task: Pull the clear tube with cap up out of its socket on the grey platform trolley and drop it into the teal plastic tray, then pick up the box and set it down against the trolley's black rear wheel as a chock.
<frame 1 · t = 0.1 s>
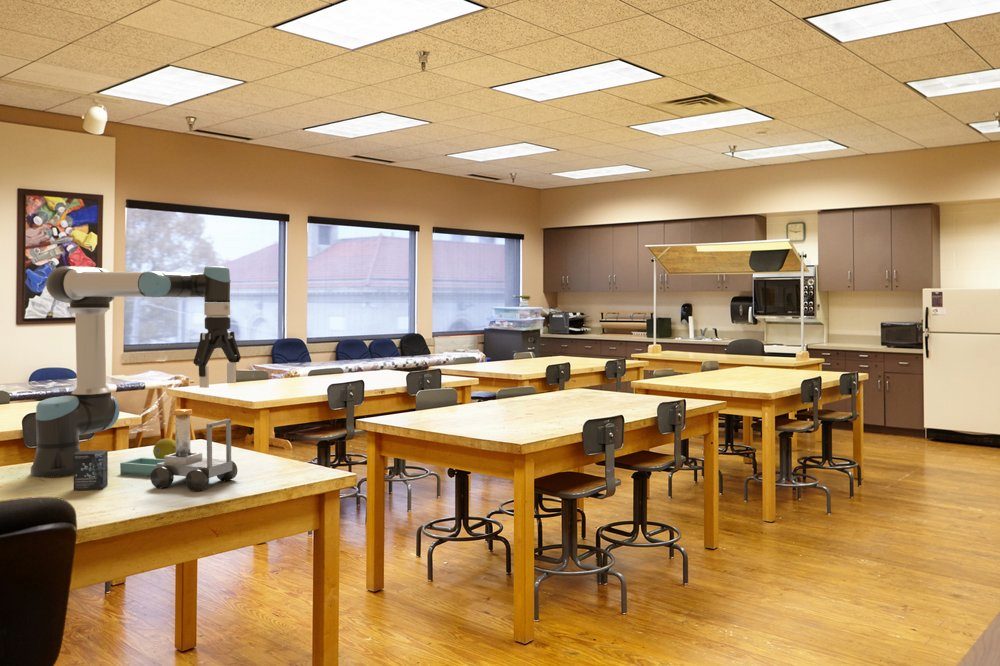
hand: (218, 385, 249), 28 cm above the table, fingers open, 13 cm apart
tray: (147, 472, 253), on the table
trolley: (195, 483, 238), on the table
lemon: (167, 463, 269), on the table
clear tube with cap: (183, 461, 239), point 6 cm above the table, touching trolley
box: (91, 488, 232), on the table
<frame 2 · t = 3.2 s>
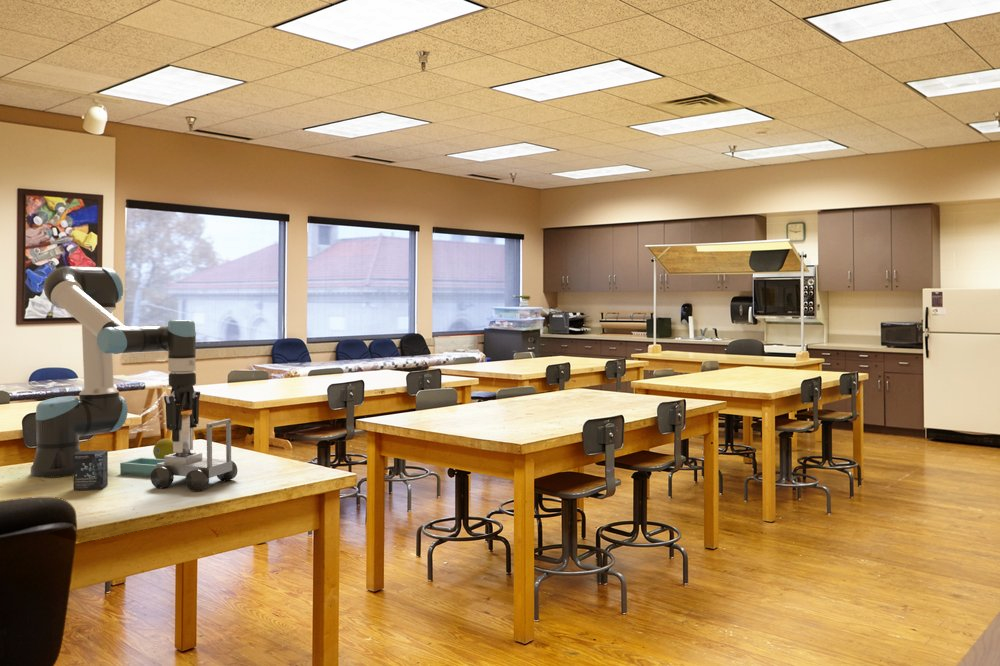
hand: (183, 450, 239), 10 cm above the table, fingers closed on clear tube with cap, 4 cm apart
clear tube with cap: (183, 461, 239), point 7 cm above the table, touching gripper
everything else where it was.
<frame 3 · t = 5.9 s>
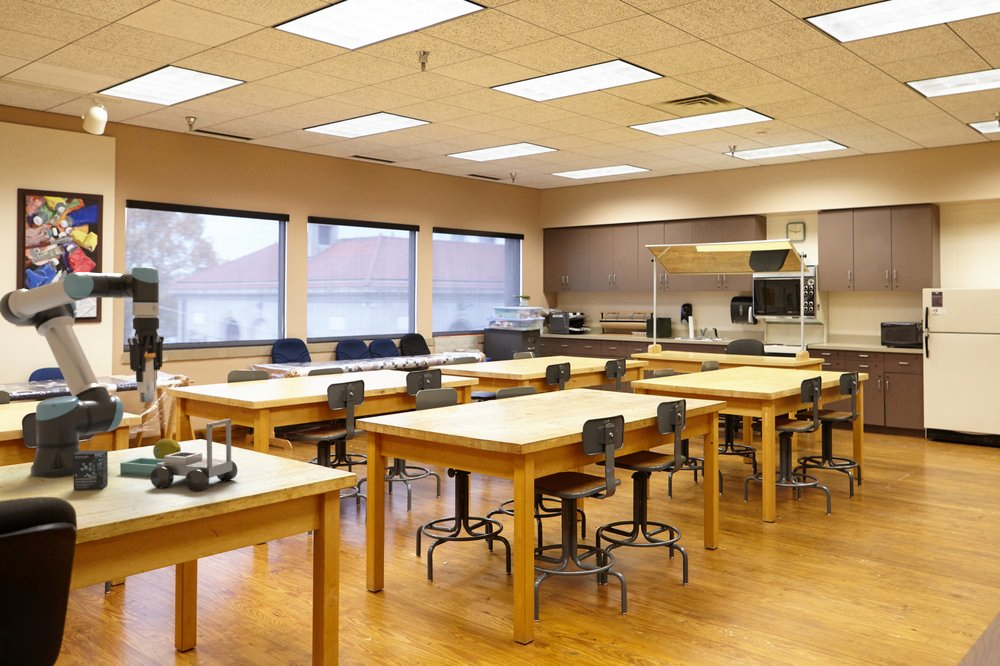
hand: (147, 391, 252), 26 cm above the table, fingers closed on clear tube with cap, 4 cm apart
clear tube with cap: (147, 401, 252), point 22 cm above the table, touching gripper
everything else where it was.
when the fingers open (7 cm above the table, at t = 8.9 s): clear tube with cap drops 2 cm, resting on tray.
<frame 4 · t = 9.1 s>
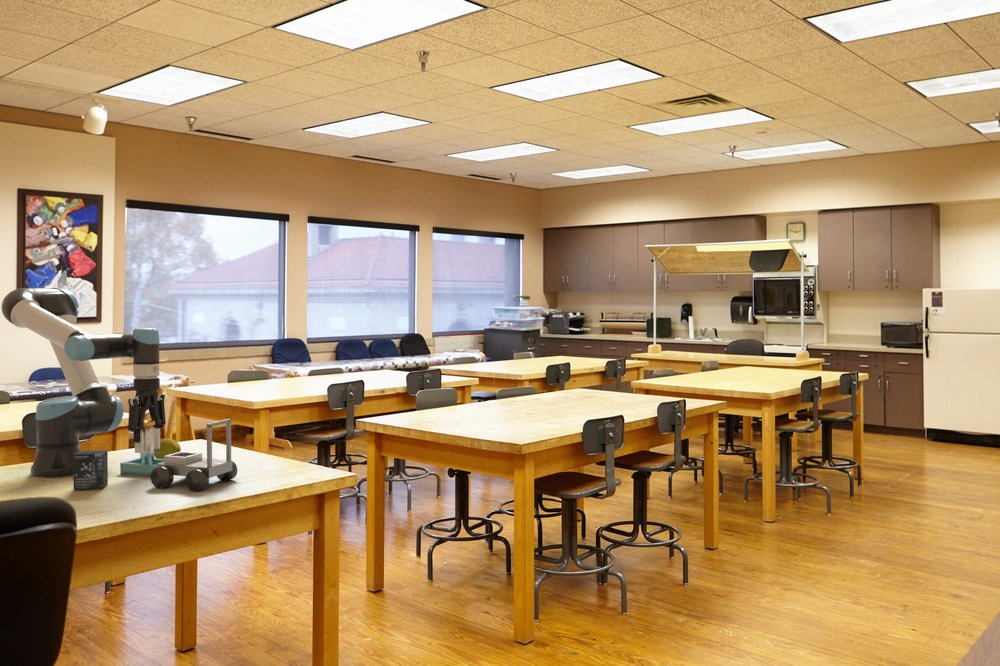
hand: (147, 450, 253), 7 cm above the table, fingers open, 7 cm apart
clear tube with cap: (147, 469, 253), point 1 cm above the table, touching tray
everything else where it was.
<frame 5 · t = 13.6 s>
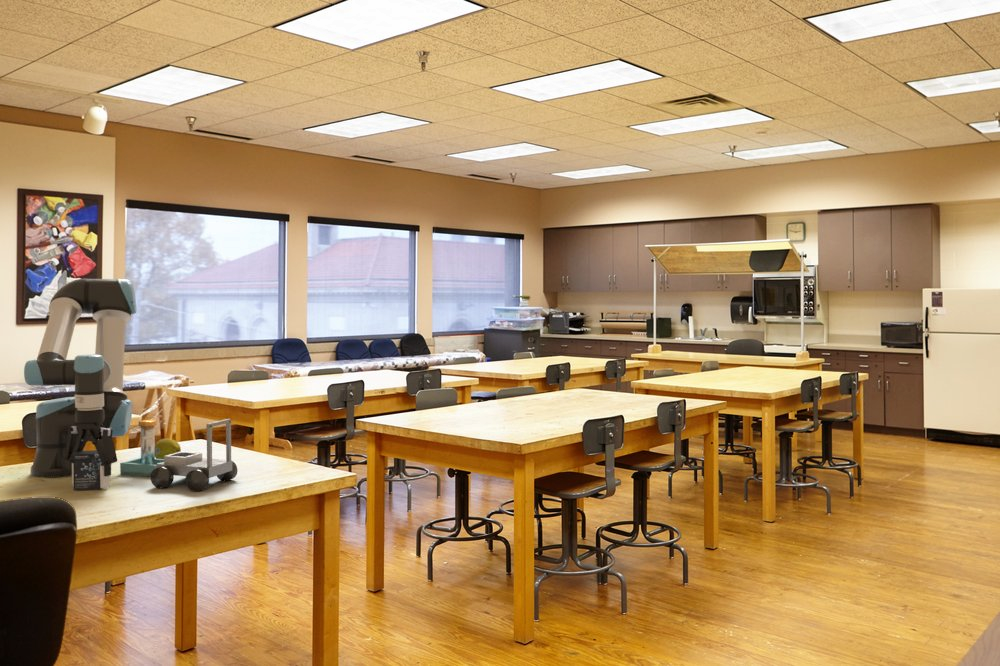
hand: (90, 485, 232), 1 cm above the table, fingers closed on box, 9 cm apart
box: (91, 488, 232), on the table, touching gripper
everything else where it was.
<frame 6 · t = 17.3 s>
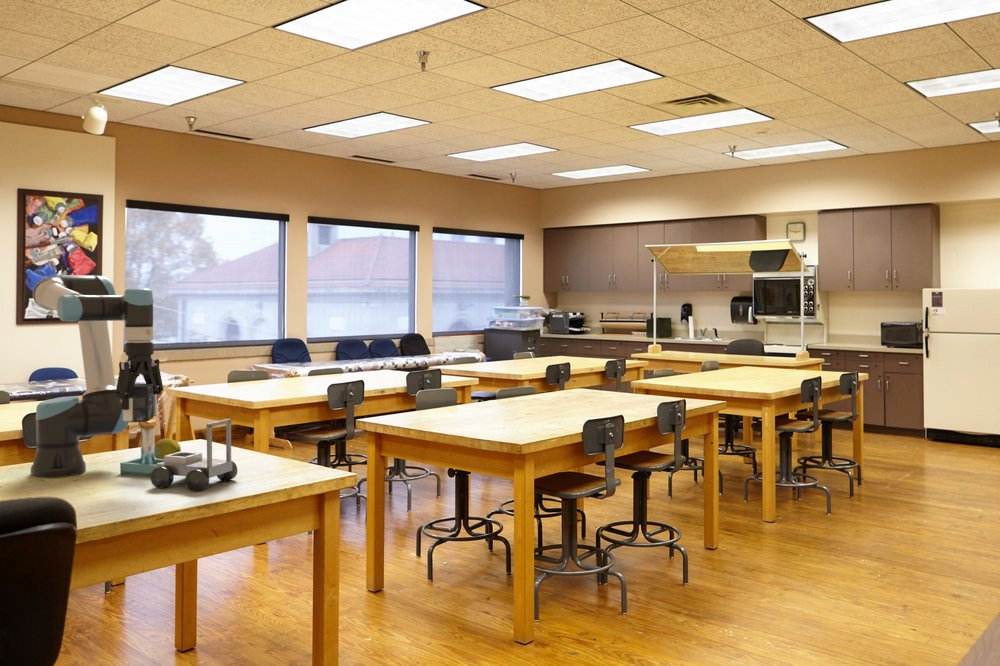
hand: (140, 418, 235), 20 cm above the table, fingers closed on box, 9 cm apart
box: (140, 421, 235), point 19 cm above the table, touching gripper
everything else where it was.
when the fingers open (2 cm above the table, at t = 20.8 s): box drops 1 cm, on the table.
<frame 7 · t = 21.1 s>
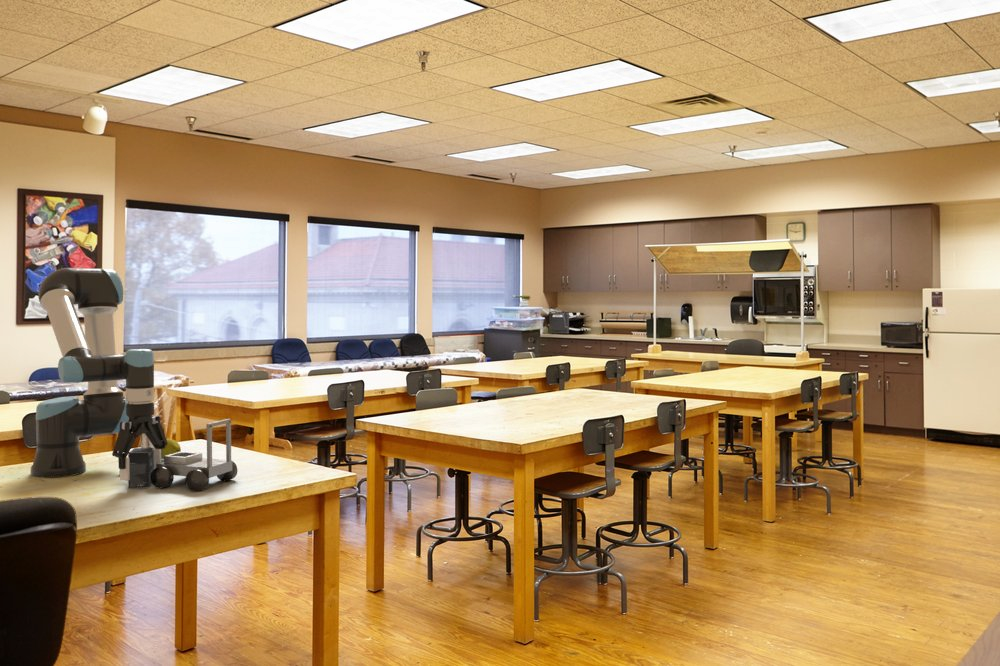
hand: (141, 475, 236), 3 cm above the table, fingers open, 12 cm apart
box: (141, 486, 236), on the table
everything else where it was.
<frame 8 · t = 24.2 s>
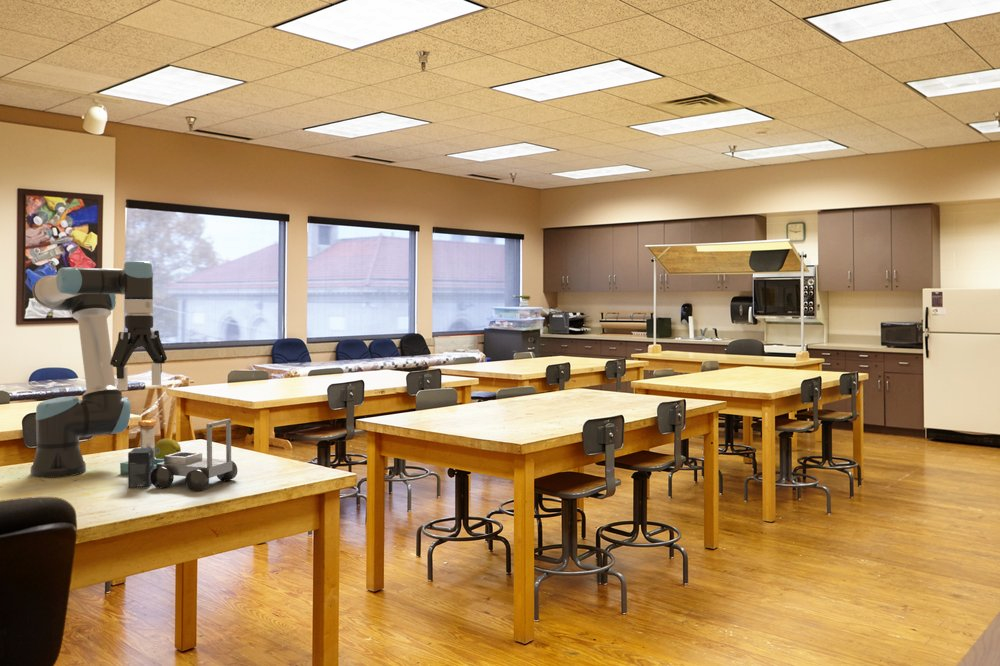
hand: (140, 387, 235), 29 cm above the table, fingers open, 13 cm apart
nothing on the table moved.
at the end: clear tube with cap inside the target area on the tray (0.0 cm from its centre), point 1.0 cm above the tray's base; box inside the target area (0.2 cm from its centre), on the table; box tilted 0° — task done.
